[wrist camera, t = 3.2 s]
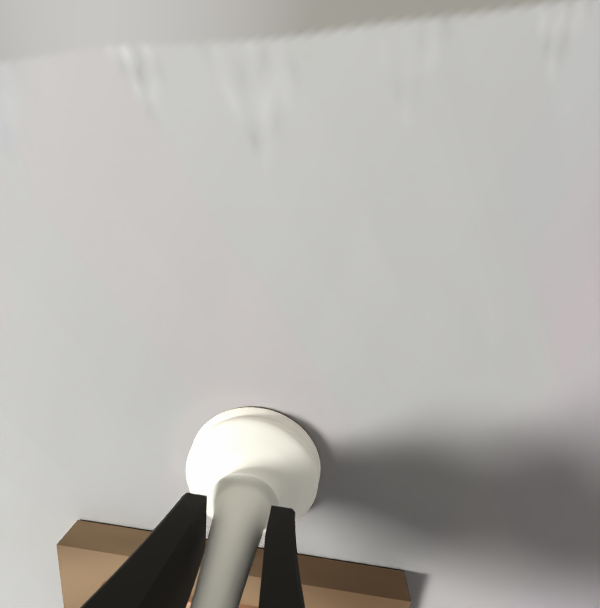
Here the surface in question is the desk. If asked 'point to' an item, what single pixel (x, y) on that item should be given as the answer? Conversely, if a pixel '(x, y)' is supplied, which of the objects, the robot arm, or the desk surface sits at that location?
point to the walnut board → (313, 573)
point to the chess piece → (246, 491)
